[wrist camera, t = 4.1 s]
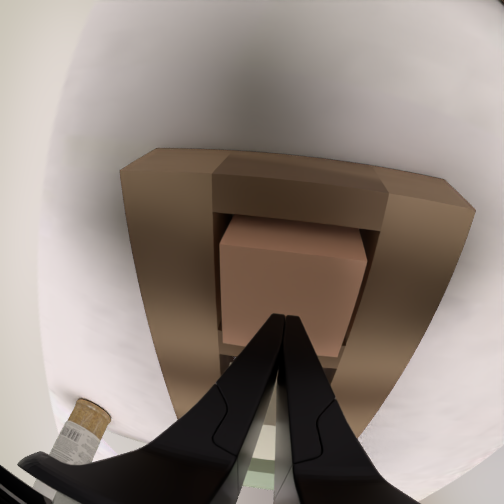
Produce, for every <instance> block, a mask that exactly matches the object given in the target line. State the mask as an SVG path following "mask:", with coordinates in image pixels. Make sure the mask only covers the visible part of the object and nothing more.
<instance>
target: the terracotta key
mask: <svg viewBox="0 0 504 504" xmlns="http://www.w3.org/2000/svg"><path fill="white" fill-rule="evenodd" d="M219 249H220V284H221V311H222V334H223V343H226V344H232V345H238V346H246V345H247V344H248V343H249V341H250V340H251V339H252V338H253V337H254V335H255V334H256V333H257V332H258V330H259V329H260V328H261V327H262V325H263V324H264V323H265V322H266V320H267V319H268V318H269V317H270V315H271V314H272V313H278V314H284V315H285V318H286V315H295V316H299V317H300V319H301V321H302V323H303V325H304V327H305V330H306V332H307V334H308V336H309V338H310V341H311V343H312V345H313V347H314V349H315V352H316V354H317V355H318V356H329V357H338V354H339V351H340V348H341V345H342V343H343V340H344V337H345V334H346V331H347V328H348V325H349V322H350V319H351V315H352V312H353V309H354V306H355V303H356V299H357V296H358V293H359V289H360V286H361V283H362V279H363V275H364V272H365V268H366V265H367V258H366V254H365V250H364V246H363V242H362V239H361V235H360V231H359V228H353V227H345V226H338V225H329V224H321V223H313V222H304V221H296V220H287V219H278V218H269V217H259V216H249V215H239V214H234V216H233V218H232V220H231V222H230V224H229V226H228V228H227V230H226V232H225V234H224V236H223V238H222V240H221V242H220V244H219Z"/></svg>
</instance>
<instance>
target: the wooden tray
mask: <svg viewBox="0 0 504 504" xmlns="http://www.w3.org/2000/svg"><path fill="white" fill-rule="evenodd" d="M120 178H121V186H122V193H123V200H124V207H125V214H126V220H127V226H128V232H129V237H130V243H131V248H132V254H133V259H134V264H135V268H136V273H137V278H138V283H139V287H140V291H141V296H142V300H143V304H144V308H145V312H146V316H147V320H148V324H149V328H150V332H151V336H152V339H153V343H154V347H155V350H156V354H157V357H158V360H159V364H160V367H161V371H162V374H163V377H164V380H165V383H166V386H167V390H168V393H169V396H170V399H171V402H172V405H173V408H174V410H175V413H176V416H177V419H180V418H181V417H182V416H183V415H184V414H185V413H186V412H188V411H189V410H190V409H191V408H192V407H193V406H194V405H195V404H196V403H197V402H198V401H199V400H200V399H201V398H202V397H203V396H204V395H205V394H206V393H207V391H208V390H209V389H210V388H211V387H212V386H213V384H216V381H217V380H218V379H219V378H220V376H221V375H222V374H223V373H224V372H225V370H226V369H227V368H228V367H229V364H230V362H233V356H235V357H237V356H238V355H239V354H240V352H241V351H242V350H243V349H244V348H245V346H238V345H232V344H226V343H223V334H222V311H221V284H220V249H219V244H220V242H221V240H222V238H223V236H224V234H225V232H226V230H227V228H228V226H229V224H230V222H231V220H232V218H233V214H239V215H249V216H259V217H269V218H278V219H287V220H296V221H304V222H313V223H321V224H329V225H338V226H345V227H353V228H359V231H360V235H361V239H362V242H363V246H364V250H365V254H366V258H367V265H366V268H365V272H364V275H363V279H362V283H361V286H360V289H359V293H358V296H357V299H356V303H355V306H354V309H353V312H352V315H351V319H350V322H349V325H348V328H347V331H346V334H345V337H344V340H343V343H342V345H341V348H340V351H339V354H338V357H329V356H318V355H317V356H318V358H319V361H320V363H321V365H322V367H323V369H324V372H325V374H326V376H327V378H328V381H329V383H330V385H331V387H332V390H333V392H334V394H335V396H336V399H337V401H338V403H339V405H340V407H341V410H342V412H343V414H344V416H345V418H346V420H347V422H348V424H349V425H350V427H351V429H352V431H353V432H354V434H355V436H356V437H357V439H358V437H359V436H360V435H361V433H362V432H363V431H364V429H365V428H366V427H367V425H368V424H369V422H370V421H371V420H372V418H373V417H374V415H375V414H376V413H377V411H378V410H379V408H380V407H381V405H382V404H383V402H384V401H385V399H386V398H387V396H388V395H389V393H390V392H391V390H392V389H393V387H394V386H395V384H396V382H397V381H398V379H399V378H400V376H401V374H402V373H403V371H404V369H405V368H406V366H407V364H408V363H409V361H410V359H411V357H412V356H413V354H414V352H415V350H416V349H417V347H418V345H419V343H420V341H421V339H422V338H423V336H424V334H425V332H426V330H427V328H428V326H429V324H430V322H431V320H432V318H433V316H434V314H435V312H436V310H437V308H438V306H439V304H440V302H441V300H442V297H443V295H444V293H445V291H446V289H447V286H448V284H449V282H450V279H451V277H452V275H453V272H454V270H455V267H456V265H457V262H458V260H459V257H460V255H461V252H462V249H463V247H464V244H465V241H466V239H467V236H468V233H469V230H470V227H471V224H472V221H473V218H474V215H475V212H476V210H475V209H474V208H473V207H472V206H471V205H470V204H469V203H468V202H467V201H466V200H465V199H464V198H463V197H462V196H461V195H460V194H459V193H458V192H457V191H456V190H455V189H454V188H453V187H452V186H451V185H450V184H449V183H448V182H447V181H445V180H444V179H439V178H435V177H430V176H425V175H421V174H416V173H411V172H406V171H400V170H395V169H389V168H384V167H378V166H372V165H365V164H359V163H352V162H345V161H338V160H331V159H323V158H315V157H306V156H297V155H287V154H276V153H264V152H251V151H235V150H216V149H185V148H156V149H154V150H152V151H151V152H149V153H147V154H146V155H144V156H142V157H141V158H139V159H137V160H136V161H134V162H132V163H131V164H129V165H127V166H126V167H124V168H123V169H121V170H120Z"/></svg>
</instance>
